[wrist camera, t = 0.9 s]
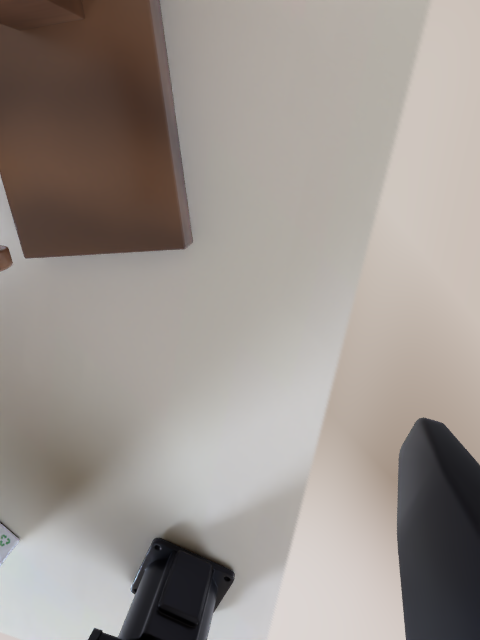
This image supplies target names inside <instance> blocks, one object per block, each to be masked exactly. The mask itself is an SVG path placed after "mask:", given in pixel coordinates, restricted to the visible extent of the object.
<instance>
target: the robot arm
mask: <svg viewBox="0 0 480 640" xmlns="http://www.w3.org/2000/svg"><path fill="white" fill-rule="evenodd" d="M397 541H398V555H399V564H400V565H399V566H400V577H401V587H402V599H403V610H404V622H405V633H406V640H480V465H479V464H478V463H477V461H476V460H475V459H474V458H473V457H472V456H471V455H470V453H469V452H468V451H467V450H466V449H465V448H464V447H463V445H462V444H461V443H460V442H459V441H458V440H457V438H456V437H455V436H454V435H453V434H452V433H451V432H450V430H449V429H448V428H447V427H446V426H445V425H444V424H443V423H440V422H438V421H434V420H431V419H427V418H420V419H418V420H417V421H416V423H415V424H414V426H413V428H412V429H411V431H410V433H409V434H408V436H407V438H406V440H405V441H404V443H403V445H402V447H401V450H400V454H399V471H398V508H397ZM234 576H235V574H234V572H233V571H232V570H230V569H228V568H225V567H223V566H221V565H219V564H217V563H214V562H212V561H210V560H208V559H205V558H203V557H201V556H199V555H197V554H194V553H192V552H190V551H188V550H185V549H183V548H181V547H179V546H177V545H174V544H172V543H170V542H168V541H166V540H163V539H161V538H155V539H154V540H153V542H152V544H151V546H150V548H149V550H148V552H147V555H146V557H145V559H144V561H143V563H142V565H141V567H140V569H139V571H138V574H137V576H136V578H135V580H134V582H133V584H132V587H131V592H132V593H134V594H135V597H134V599H133V602H132V604H131V607H130V609H129V611H128V614H127V616H126V619H125V621H124V624H123V626H122V629H121V631H120V634H119V636H118V637H115V636H112V635H109V634H106V633H103V632H102V630H99V629H96V628H94V630H93V632H92V633H91V635H90V637H89V639H88V640H207V637H208V633H209V628H210V624H211V620H212V615H213V613H214V611H215V609H216V608H217V606H218V605H219V603H220V602H221V600H222V599H223V597H224V595H225V594H226V592H227V591H228V589H229V588H230V586H231V584H232V583H233V581H234Z"/></svg>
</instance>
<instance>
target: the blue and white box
mask: <svg viewBox="0 0 480 640" xmlns="http://www.w3.org/2000/svg"><path fill="white" fill-rule="evenodd" d="M18 543H19V539H18V538H17V537H16V536H15V535H14V534H13V533H11V532H10V531H9V530H8V529H7V528H5V527H4V526H3V525H2V524H1V523H0V566H1V564H2V563H3V562H4V560H5V559H6V558H7V556H8V555H9V554H10V552H11V551H12V550H13V548H14V547H15V546H16V545H17V544H18Z"/></svg>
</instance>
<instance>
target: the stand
mask: <svg viewBox="0 0 480 640" xmlns="http://www.w3.org/2000/svg"><path fill="white" fill-rule="evenodd" d="M0 174H1V178H2V181H3V185H4V188H5V192H6V195H7V199H8V202H9V206H10V209H11V213H12V216H13V220H14V223H15V227H16V230H17V233H18V237H19V240H20V244H21V247H22V251H23V254H24V257H25V258H44V257H60V256H77V255H94V254H110V253H127V252H144V251H160V250H177V249H185V248H186V247H188V246H189V245H190V244H191V243H193V239H192V232H191V225H190V217H189V210H188V203H187V196H186V188H185V181H184V174H183V167H182V160H181V152H180V145H179V138H178V131H177V123H176V116H175V109H174V102H173V94H172V87H171V80H170V73H169V66H168V58H167V51H166V44H165V37H164V29H163V22H162V15H161V8H160V0H0ZM12 263H13V262H12V259H11V255H10V252H9V249H8V247H6V246H1V245H0V272H1V271H3V270H5V269H7V268H9V267H11V266H12Z"/></svg>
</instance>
